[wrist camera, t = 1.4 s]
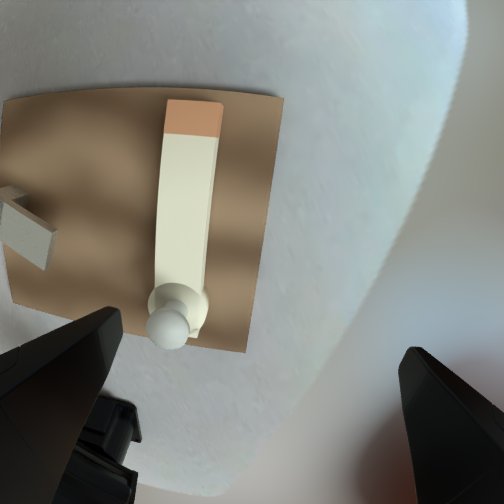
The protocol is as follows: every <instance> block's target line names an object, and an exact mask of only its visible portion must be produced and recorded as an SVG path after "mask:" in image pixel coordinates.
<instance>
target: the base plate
mask: <svg viewBox="0 0 504 504" xmlns="http://www.w3.org/2000/svg"><path fill="white" fill-rule="evenodd" d="M168 99H170V100H191V101H206V102H218V103H221V104H222V105H223V106H224V109H223V116H222V123H221V130H220V138H219V143H218V151H217V159H216V167H215V175H214V184H213V193H212V202H211V211H210V221H209V231H208V241H207V252H206V263H205V275H204V287H205V289H206V290H207V292H208V295H209V308H208V312H207V315H206V319H205V322H204V324H203V325H202V327H201V328H200V330H199V334H198V337H197V338H192V337H188V338H187V341H186V343H185V344H187V345H193V346H199V347H206V348H212V349H219V350H226V351H234V352H242V353H246V346H247V340H248V334H249V328H250V321H251V315H252V309H253V303H254V296H255V290H256V283H257V277H258V271H259V264H260V258H261V251H262V245H263V238H264V232H265V225H266V218H267V212H268V205H269V198H270V192H271V185H272V178H273V172H274V165H275V158H276V151H277V144H278V138H279V131H280V124H281V117H282V110H283V103H284V98H279V97H273V96H266V95H258V94H250V93H241V92H232V91H221V90H208V89H192V88H166V87H130V88H104V89H88V90H76V91H66V92H57V93H49V94H42V95H35V96H28V97H22V98H17V99H11V100H6V101H4V105H3V113H2V123H1V136H0V188H3V187H6V186H10V185H13V184H14V185H16V186H17V187H19V188H21V189H22V190H24V191H26V192H27V193H29V198H28V202H27V207H26V210H28V211H29V212H31V213H32V214H34V215H36V216H37V217H39V218H41V219H42V220H44V221H45V222H47V223H49V224H50V225H52V226H54V227H55V228H57V229H59V230H58V234H57V238H56V243H55V247H54V252H53V257H52V262H51V267H49V268H48V269H47V270H45V271H44V270H42V269H41V268H39V267H38V266H36V265H35V264H33V263H32V262H30V261H29V260H27V259H26V258H24V257H23V256H22V255H20V254H19V253H17V252H16V251H14V250H13V249H12V248H10V247H9V246H7V245H6V244H5V243H3V246H4V254H5V261H6V268H7V274H8V279H9V285H10V290H11V295H12V300H13V303H16V304H19V305H23V306H26V307H29V308H32V309H35V310H39V311H42V312H45V313H49V314H52V315H56V316H60V317H63V318H67V319H71V320H74V321H75V320H77V319H79V318H82V317H84V316H86V315H88V314H90V313H92V312H95V311H97V310H99V309H101V308H103V307H106V306H112V307H116V308H119V309H120V311H121V317H122V325H123V332H124V333H129V334H134V335H138V336H143V337H148V335H147V332H146V322H147V320H148V318H149V317H150V314H149V311H148V299H149V296H150V294H151V292H152V291H153V289H154V288H155V245H156V222H157V204H158V190H159V177H160V166H161V155H162V146H163V137H164V124H165V117H166V109H167V102H168ZM148 338H149V337H148Z"/></svg>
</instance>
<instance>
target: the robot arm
mask: <svg viewBox="0 0 504 504" xmlns="http://www.w3.org/2000/svg"><path fill="white" fill-rule="evenodd" d="M122 336H123V325H122V317H121V311H120V309H119V308H116V307H112V306H106V307H103V308H101V309H99V310H97V311H95V312H92V313H90V314H88V315H86V316H84V317H82V318H79V319H77V320H75V321H73V322H71V323H68V324H66V325H64V326H62V327H60V328H57V329H55V330H53V331H51V332H49V333H47V334H44V335H42V336H40V337H38V338H36V339H34V340H31V341H29V342H27V343H25V344H23V345H21V346H20V347H19V346H18V347H16V348H14V349H12V350H10V351H7V352H5V353H3V354H1V355H0V504H134V500H135V493H136V485H137V478H138V472H136V471H134V470H133V471H132V470H130V469H128V468H126V467H124V466H122V464H123V461H124V458H125V455H126V453H127V450H128V447H129V444H130V442H131V441H134V442H137V443H140V442H141V441H142V436H141V431H140V425H139V420H138V414H137V408H136V407H135V406H134V405H131V404H127V403H123V402H120V401H116V400H112V399H109V398H105V397H102V396H98V394H99V392H100V390H101V388H102V386H103V384H104V382H105V380H106V378H107V376H108V373H109V371H110V368H111V365H112V363H113V360H114V357H115V355H116V352H117V349H118V347H119V344H120V341H121V339H122ZM398 375H399V382H400V392H401V401H402V410H403V416H404V421H405V426H406V431H407V437H408V442H409V448H410V453H411V460H412V466H413V473H414V480H415V486H416V496H417V504H504V413H503V412H502V411H501V410H500V409H499V408H497V407H496V406H495V405H492V403H491V402H490V401H489V400H487V399H486V398H485V397H484V396H482V395H481V394H480V393H479V392H477V391H476V390H475V389H474V388H472V387H471V386H470V385H469V384H467V383H466V382H465V381H464V380H462V379H461V378H460V377H459V376H457V375H456V374H455V373H453V372H452V371H451V370H450V369H449V368H447V367H446V366H445V365H443V364H442V363H441V362H440V361H438V360H437V359H436V358H434V357H433V356H432V355H431V354H429V353H428V352H427V351H426V350H424V349H423V348H421V347H409V348H408V349H407V351H406V353H405V355H404V357H403V359H402V361H401V363H400V365H399V369H398Z"/></svg>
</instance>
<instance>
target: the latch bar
mask: <svg viewBox="0 0 504 504" xmlns="http://www.w3.org/2000/svg"><path fill="white" fill-rule="evenodd" d="M223 109H224V106H223V105H222V104H221V103H218V102H206V101H191V100H170V99H168V102H167V109H166V117H165V124H164V137H163V146H162V155H161V166H160V177H159V190H158V204H157V222H156V245H155V288H154V289H153V291H152V292H151V294H150V296H149V299H148V311H149V314H150V317H149V318H148V320H147V322H146V332H147V335H148V337H149V338H150V340H151V341H152V342H153V343H155V344H156V345H158V346H159V347H162V348H165V349H177V348H180V347H181V346H183V345H184V344H185V343H186V341H187V338H188V337H192V338H197V337H198V334H199V330H200V328H201V327H202V325H203V324H204V322H205V319H206V315H207V312H208V308H209V295H208V292H207V290H206V289H205V287H204V275H205V263H206V252H207V241H208V231H209V221H210V211H211V202H212V193H213V184H214V175H215V167H216V159H217V151H218V143H219V138H220V130H221V123H222V116H223Z"/></svg>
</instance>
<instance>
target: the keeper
mask: <svg viewBox="0 0 504 504" xmlns="http://www.w3.org/2000/svg"><path fill="white" fill-rule="evenodd" d="M28 198H29V193H27V192H26V191H24V190H22V189H21V188H19V187H17V186H16V185H14V184H13V185H10V186H6V187H3V188H0V240H1V241H2V242H3V243H5V244H6V245H7V246H9V247H10V248H12V249H13V250H14V251H16V252H17V253H19V254H20V255H22V256H23V257H24V258H26V259H27V260H29V261H30V262H32V263H33V264H35V265H36V266H38V267H39V268H41V269H42V270H44V271H45V270H47V269H48V268H49V267H51V262H52V257H53V252H54V247H55V243H56V238H57V234H58V230H59V229H57V228H55V227H54V226H52V225H50V224H49V223H47V222H45V221H44V220H42V219H41V218H39V217H37V216H36V215H34V214H32V213H31V212H29V211H28V210H26V207H27V202H28Z"/></svg>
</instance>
